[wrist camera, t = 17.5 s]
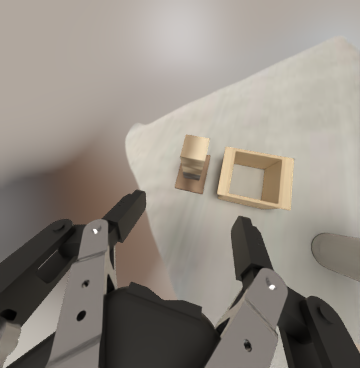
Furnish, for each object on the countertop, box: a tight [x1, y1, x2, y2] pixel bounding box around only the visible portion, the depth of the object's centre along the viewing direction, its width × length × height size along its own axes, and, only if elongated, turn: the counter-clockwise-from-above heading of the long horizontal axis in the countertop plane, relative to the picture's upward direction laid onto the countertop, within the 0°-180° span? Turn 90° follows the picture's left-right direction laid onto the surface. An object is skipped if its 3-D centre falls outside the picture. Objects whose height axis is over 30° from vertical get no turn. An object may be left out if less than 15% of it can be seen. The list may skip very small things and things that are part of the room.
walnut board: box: [175, 155, 210, 194], centre depth 42 cm, size 9×13×2 cm
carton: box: [217, 147, 294, 210], centre depth 37 cm, size 18×14×8 cm
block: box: [180, 135, 210, 181], centre depth 33 cm, size 5×5×16 cm
